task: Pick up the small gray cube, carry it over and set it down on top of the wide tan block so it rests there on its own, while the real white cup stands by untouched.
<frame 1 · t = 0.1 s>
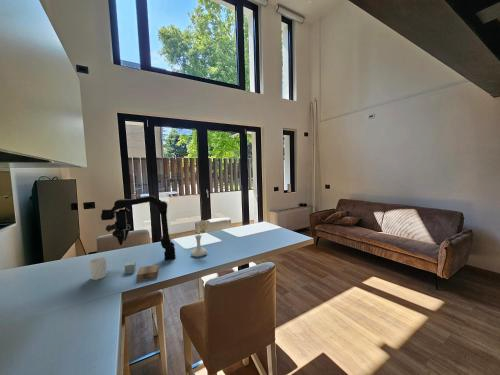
hand: (122, 242, 135), 15 cm above the table, fingers open, 9 cm apart
flower in vase: (200, 255, 150), on the table
white cup: (99, 277, 120), on the table
gray cube: (130, 271, 126), on the table
tan block: (148, 276, 120), on the table
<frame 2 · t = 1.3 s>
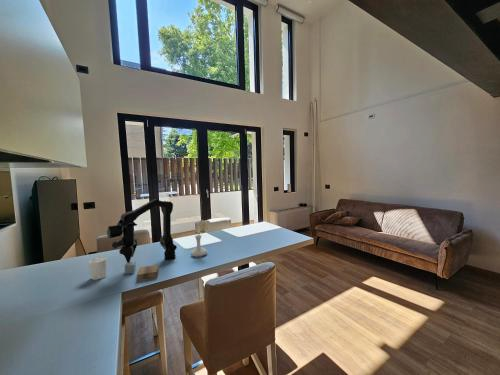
hand: (130, 259, 126), 7 cm above the table, fingers open, 9 cm apart
nothing on the table moved.
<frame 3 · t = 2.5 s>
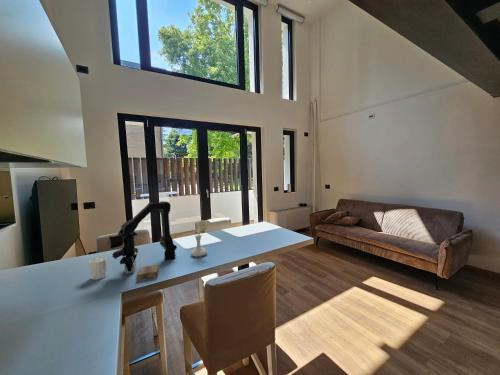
hand: (130, 269, 126), 1 cm above the table, fingers closed on gray cube, 5 cm apart
gray cube: (130, 271, 126), on the table, touching gripper
everything else where it was.
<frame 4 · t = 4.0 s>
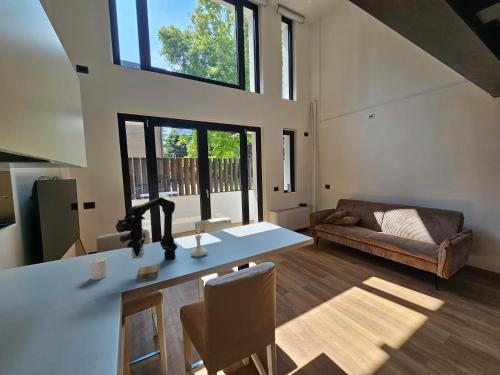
hand: (138, 254, 122), 11 cm above the table, fingers closed on gray cube, 5 cm apart
gray cube: (138, 256, 122), point 10 cm above the table, touching gripper
everything else where it was.
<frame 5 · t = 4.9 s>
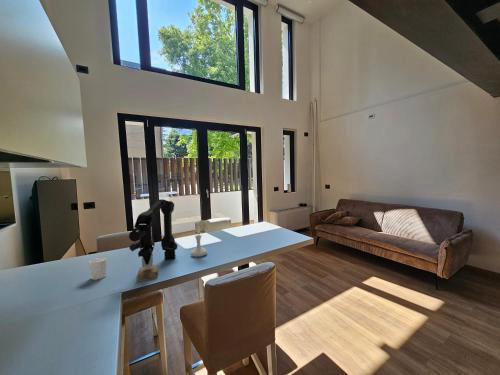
hand: (147, 262, 120), 7 cm above the table, fingers closed on gray cube, 5 cm apart
gray cube: (147, 264, 120), point 6 cm above the table, touching gripper
everything else where it was.
when the fingers open (6 cm above the table, at t = 5.6 s): gray cube stays where it is, point 4 cm above the table.
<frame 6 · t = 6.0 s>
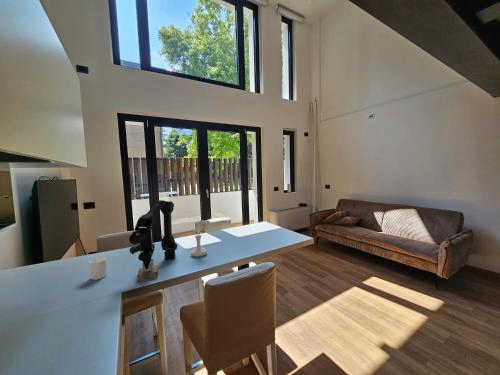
hand: (147, 265, 120), 6 cm above the table, fingers open, 9 cm apart
gray cube: (148, 269, 120), point 4 cm above the table
everything else where it was.
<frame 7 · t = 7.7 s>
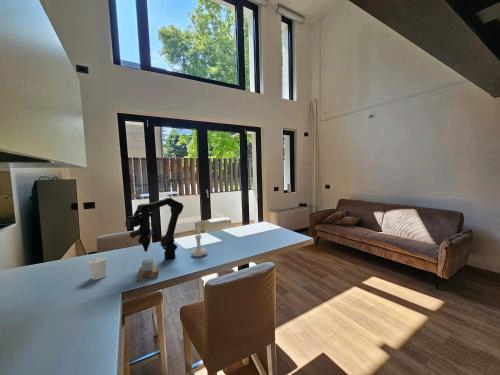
hand: (146, 249, 130), 12 cm above the table, fingers open, 9 cm apart
nothing on the table moved.
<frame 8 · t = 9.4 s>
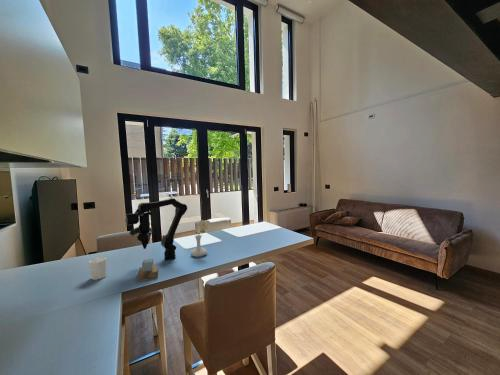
hand: (145, 246, 134), 12 cm above the table, fingers open, 9 cm apart
gray cube: (148, 269, 120), point 4 cm above the table, touching tan block
tan block: (148, 276, 120), on the table, touching gray cube
everything else where it was.
at the end: gray cube inside the target area on the tan block (0.1 cm from its centre), point 4.0 cm above the tan block's base; gray cube tilted 0°; the gripper is holding nothing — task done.
